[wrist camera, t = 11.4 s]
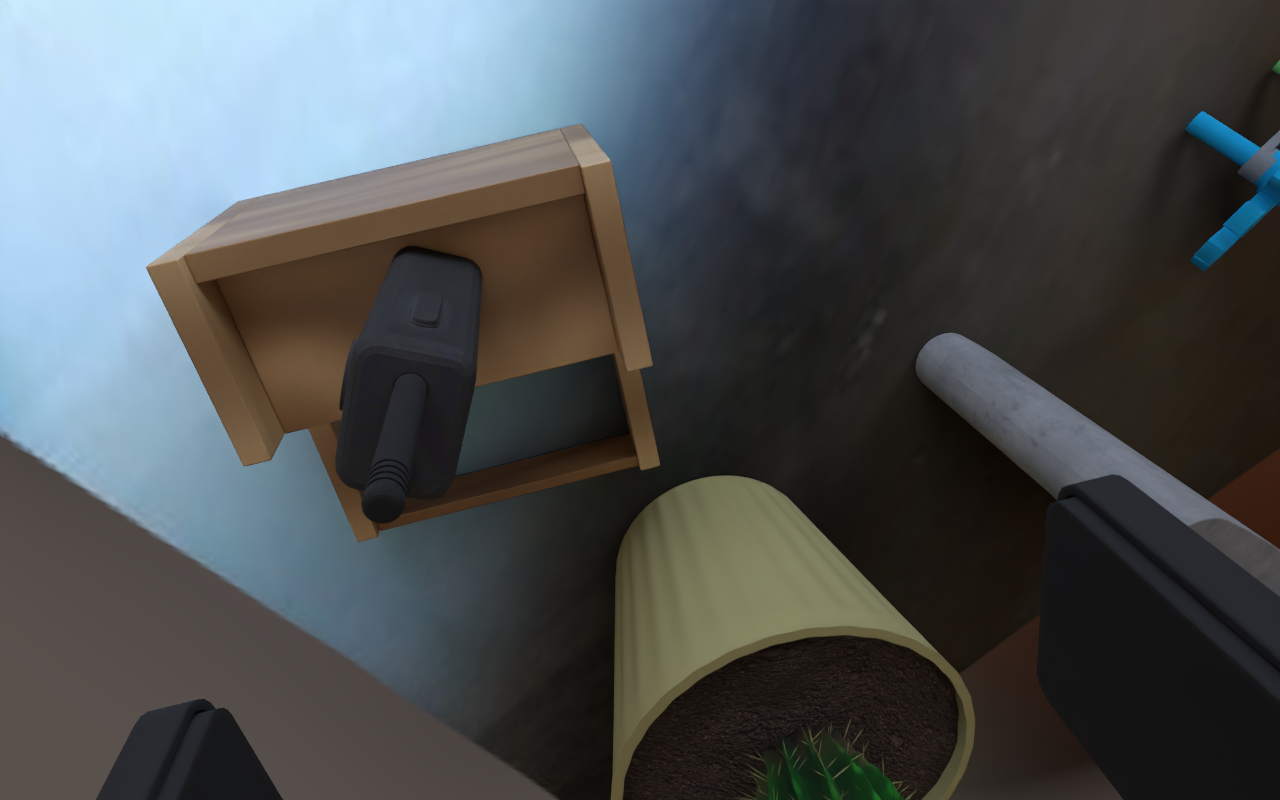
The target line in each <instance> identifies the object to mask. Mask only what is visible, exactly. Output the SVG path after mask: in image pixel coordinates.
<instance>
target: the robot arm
mask: <svg viewBox="0 0 1280 800" xmlns="http://www.w3.org/2000/svg"><path fill="white" fill-rule="evenodd" d="M1038 646H1039V647H1038V662H1037V675H1038V679H1039V684H1040V686H1041V689H1042V691H1043V693H1044V695H1045V697H1046V699H1047V701H1048V702H1049V704H1050V705H1051V706H1052V708H1053V709H1054V710H1055V711H1056V713H1057V714H1058V715H1059V717H1060V718H1061V719H1062V721H1063V722H1064V723H1065V724H1066V726H1067V727H1068V728H1069V730H1070V731H1071V732H1072V733H1073V735H1074V736H1075V737H1076V739H1077V740H1078V741H1079V743H1080V744H1081V745H1082V746H1083V748H1084V749H1085V750H1086V752H1087V753H1088V754H1089V755H1090V757H1091V758H1092V759H1093V761H1094V762H1095V763H1096V764H1097V766H1098V767H1099V768H1100V770H1101V771H1102V772H1103V774H1104V775H1105V776H1106V777H1107V779H1108V780H1109V781H1110V783H1111V784H1112V785H1113V787H1114V788H1115V789H1116V790H1117V791H1118V793H1119V794H1120V796H1121V797H1122V798H1123V799H1124V800H1280V596H1278V595H1277V594H1276V593H1274V592H1273V591H1272V590H1270V589H1269V588H1268V587H1267V586H1265V585H1264V584H1263V583H1261V582H1260V581H1259V580H1257V579H1256V578H1255V577H1254V576H1252V575H1251V574H1250V573H1248V572H1247V571H1246V570H1244V569H1243V568H1242V567H1241V566H1239V565H1238V564H1237V563H1235V562H1234V561H1233V560H1231V559H1230V558H1229V557H1228V556H1226V555H1225V554H1224V553H1222V552H1221V551H1220V550H1218V549H1217V548H1216V547H1215V546H1213V545H1212V544H1211V543H1209V542H1208V541H1207V540H1205V539H1204V538H1203V537H1202V536H1200V535H1199V534H1198V533H1196V532H1195V531H1194V530H1192V529H1191V528H1190V527H1188V526H1187V525H1186V524H1185V523H1183V522H1182V521H1181V520H1179V519H1178V518H1177V517H1175V516H1174V515H1173V514H1172V513H1170V512H1169V511H1168V510H1166V509H1165V508H1164V507H1162V506H1161V505H1160V504H1159V503H1157V502H1156V501H1155V500H1153V499H1152V498H1151V497H1149V496H1148V495H1147V494H1146V493H1144V492H1143V491H1142V490H1140V489H1139V488H1138V487H1136V486H1135V485H1134V484H1133V483H1131V482H1130V481H1129V480H1127V479H1125V478H1124V477H1122V476H1120V475H1114V474H1111V475H1107V476H1103V477H1099V478H1095V479H1091V480H1087V481H1083V482H1079V483H1075V484H1071V485H1067V486H1065V487H1062V489H1061V490H1060V492H1059V493H1058V498H1057V501H1056V502H1053V503H1050V505H1049V506H1048V508H1047V512H1046V526H1045V543H1044V560H1043V577H1042V594H1041V611H1040V629H1039V645H1038ZM96 800H283V799H282V798H281V796H280V794H279V793H278V791H277V789H276V787H275V786H274V784H273V782H272V781H271V779H270V778H269V776H268V774H267V772H266V771H265V769H264V768H263V766H262V764H261V762H260V761H259V759H258V758H257V756H256V754H255V753H254V751H253V749H252V747H251V746H250V744H249V742H248V741H247V739H246V737H245V736H244V734H243V732H242V731H241V729H240V727H239V726H238V724H237V723H236V721H235V719H234V718H233V716H232V714H231V713H230V712H229V711H228V710H226V709H225V708H219V709H215V708H214V706H213V705H212V704H211V703H210V702H208V701H207V700H205V699H201V700H200V699H199V700H194V701H190V702H186V703H182V704H178V705H173V706H169V707H165V708H161V709H158V710H154V711H149V712H147V713H145V714H144V715H143V716H141V717H140V718H139V720H138V721H137V723H136V724H135V726H134V727H133V730H132V731H131V733H130V735H129V737H128V739H127V741H126V743H125V745H124V747H123V749H122V751H121V752H120V755H119V756H118V758H117V760H116V762H115V764H114V766H113V768H112V770H111V772H110V774H109V776H108V777H107V779H106V781H105V783H104V785H103V787H102V789H101V791H100V793H99V795H98V797H97V799H96Z"/></svg>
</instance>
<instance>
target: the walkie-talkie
mask: <svg viewBox="0 0 1280 800" xmlns="http://www.w3.org/2000/svg"><path fill="white" fill-rule="evenodd" d="M481 295H482V272H481V270H480V267H479V266H478V265H477V264H476V263H475V262H474V261H472V260H470V259H468V258H465V257H461V256H457V255H452V254H448V253H443V252H439V251H435V250H430V249H426V248H422V247H417V246H407V247H404V248H402V249H400V250H399V251H398V252H397V253H396V254H395V256H394V258H393V260H392V262H391V265H390V267H389V269H388V272H387V274H386V276H385V278H384V281H383V283H382V285H381V287H380V290H379V292H378V294H377V297H376V299H375V301H374V303H373V306H372V308H371V310H370V313H369V315H368V317H367V319H366V322H365V324H364V326H363V329H362V331H361V333H360V335H359V338H358V339H354V340H353V342H352V345H351V348H350V351H349V354H348V358H347V362H346V366H345V371H344V376H343V382H342V388H341V395H340V404H339V410H341V411H342V417H341V424H340V430H339V437H338V443H337V450H336V456H335V467H336V473H337V474H338V476H339V478H340V480H341V481H342V482H343V483H344V484H346V485H347V486H348V487H350V488H353V489H356V490H361V491H364V494H363V498H362V501H361V506H362V511H363V513H364V515H365V516H366V517H367V518H368V519H369V520H371V521H373V522H375V523H380V524H385V523H390V522H393V521H395V520H396V519H397V518H398V517H399V516H400V515H401V514H402V512H403V509H404V505H405V499H406V497H407V498H414V499H420V500H433V499H436V498H438V497H441V496H443V495H444V494H445V493H446V492H447V491H448V490H449V489H450V487H451V485H452V483H453V480H454V478H455V473H456V469H457V464H458V460H459V455H460V451H461V446H462V442H463V437H464V433H465V428H466V424H467V419H468V415H469V410H470V406H471V401H472V397H473V392H474V388H475V383H476V373H477V358H478V342H479V326H480V310H481Z"/></svg>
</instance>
